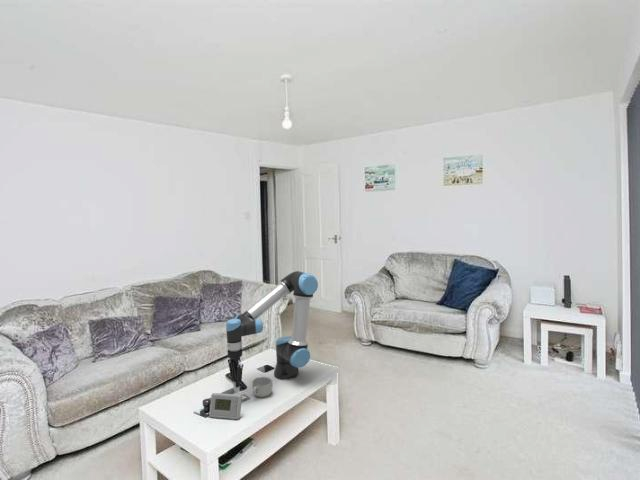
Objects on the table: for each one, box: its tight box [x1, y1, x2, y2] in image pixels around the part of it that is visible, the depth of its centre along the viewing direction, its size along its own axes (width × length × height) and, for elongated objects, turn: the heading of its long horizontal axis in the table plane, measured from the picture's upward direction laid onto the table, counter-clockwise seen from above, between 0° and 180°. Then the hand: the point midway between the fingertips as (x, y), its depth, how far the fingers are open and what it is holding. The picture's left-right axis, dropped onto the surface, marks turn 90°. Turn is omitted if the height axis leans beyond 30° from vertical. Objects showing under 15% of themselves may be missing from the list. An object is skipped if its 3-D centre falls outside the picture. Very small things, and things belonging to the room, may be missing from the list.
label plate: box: [240, 393, 251, 403], centre depth 196 cm, size 8×6×1 cm
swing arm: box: [202, 385, 243, 407], centre depth 190 cm, size 22×4×2 cm, turn 138°
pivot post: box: [199, 406, 210, 417], centre depth 183 cm, size 7×7×4 cm
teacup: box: [252, 376, 273, 398], centre depth 199 cm, size 14×11×8 cm
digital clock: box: [208, 392, 242, 420], centre depth 180 cm, size 16×9×11 cm, turn 68°
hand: (236, 392), depth 194 cm, fingers closed
